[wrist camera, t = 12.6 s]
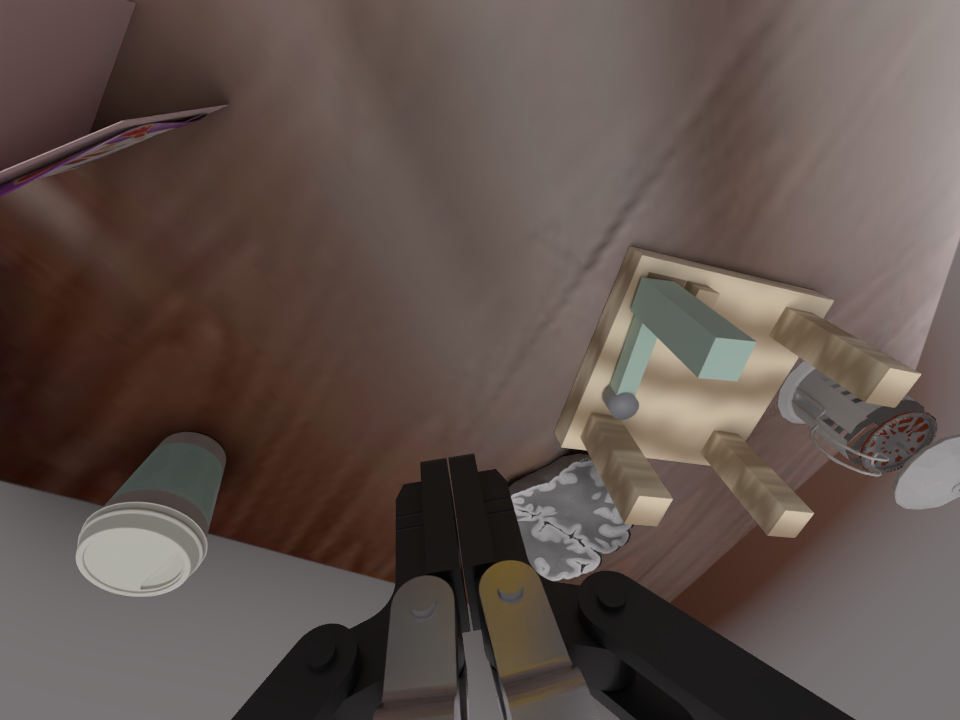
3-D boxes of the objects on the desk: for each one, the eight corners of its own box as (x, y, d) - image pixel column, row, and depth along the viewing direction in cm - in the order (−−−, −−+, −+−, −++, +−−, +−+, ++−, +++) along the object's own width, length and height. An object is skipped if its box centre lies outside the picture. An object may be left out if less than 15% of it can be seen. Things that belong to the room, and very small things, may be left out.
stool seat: (629, 246, 42) (717, 309, 31) (814, 290, 47) (950, 359, 36) (554, 431, 51) (600, 535, 40) (716, 453, 56) (799, 550, 45)
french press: (845, 420, 57) (1120, 629, 35) (751, 429, 55) (978, 653, 34) (879, 344, 52) (1222, 532, 30) (778, 351, 50) (1062, 555, 29)
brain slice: (545, 583, 64) (551, 604, 61) (443, 533, 57) (446, 555, 54) (661, 488, 58) (673, 507, 56) (564, 420, 51) (573, 438, 48)
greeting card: (86, 180, 34) (-103, 242, 21) (-3, 61, 30) (-297, 49, 17) (237, 118, 34) (137, 142, 21) (166, -11, 30) (-10, -78, 17)
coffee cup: (169, 498, 48) (107, 612, 38) (122, 431, 44) (38, 539, 34) (256, 478, 49) (218, 586, 38) (218, 409, 44) (164, 510, 34)
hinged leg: (626, 407, 47) (684, 490, 38) (597, 405, 47) (648, 489, 37) (673, 281, 41) (756, 341, 32) (641, 276, 41) (715, 337, 31)
